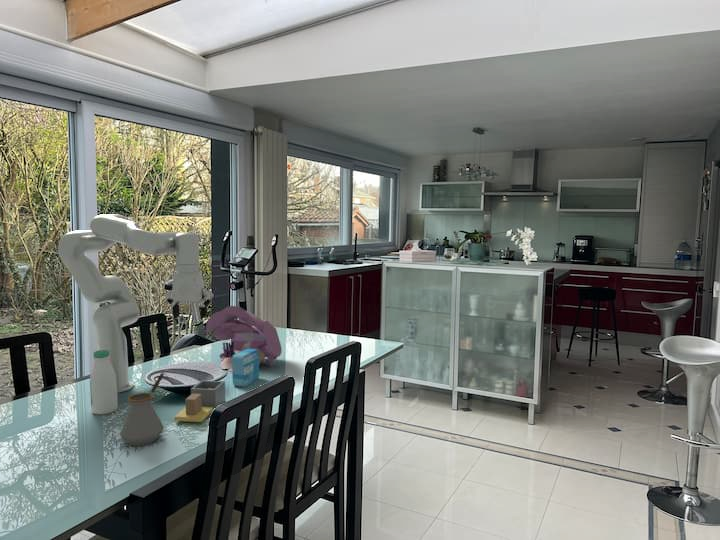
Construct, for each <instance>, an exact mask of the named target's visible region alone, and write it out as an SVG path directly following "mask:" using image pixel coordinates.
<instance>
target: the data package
mask: <svg viewBox="0 0 720 540" xmlns="http://www.w3.org/2000/svg"><path fill="white" fill-rule="evenodd" d="M231 373H232V377H231V378H232V385H233V386H234V387H239V388H240V387H242V388H245V387H247V386H249V385H250V384H252V383H254V382H255V381H257V380H259V378H260V363H259V351H258V350H257V349H248V348H247V349H245V350H243V351H241V352H239V353H237V354H235V355H233V357H232V371H231Z"/></svg>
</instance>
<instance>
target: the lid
mask: <svg viewBox="0 0 720 540" xmlns="http://www.w3.org/2000/svg"><path fill="white" fill-rule="evenodd" d="M184 400H185V407H184V408H182V409H181V410H180V411H178V413H177V414H176V415H174V417H173V418H174V419H173V420H174V422H175V421H177V422H178V421H179V422H184V423H185V422H186V423H187V422H188V423H201V422H203V421H205V419H206V418H208V416H209V415H210V414H211V413H212V412H213V411H214V410H213V407H202V399H201V394H191V393H190V395H189V396H188V397H187V398H185V399H184Z"/></svg>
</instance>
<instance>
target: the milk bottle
mask: <svg viewBox="0 0 720 540" xmlns="http://www.w3.org/2000/svg"><path fill="white" fill-rule="evenodd" d="M109 357H110V356H109V351H108V350H99V351H98V350H96V351H94V352H93V360H94V364H93V368H92V369H91V372H90V374H89V375H90V376H89V387H90V403H91V406H90V407H91V412H92V414H94V415H106V414H111V413H114V412H116V411H117V410H118V407H119V404H118V393H117V384H116V374H115V371H114V369H113V367H112V365H111V364H110V361H109Z"/></svg>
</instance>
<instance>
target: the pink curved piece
mask: <svg viewBox="0 0 720 540" xmlns="http://www.w3.org/2000/svg"><path fill="white" fill-rule="evenodd" d="M212 331H213V332H212ZM211 332H212V333H211ZM205 333H206V334H209V333H211V335H212V338H215V339H216V340H218V341H229V340H230V342H223V343H222V349H223V350H222V351H223V353H221V354H219V358H220V360H222V361H221V363H220V364H221V365H223V366H224V367H226V368H227V369H228V370H229V372H232V357H233V355H235V354H237V353H239V352H241V351H243V350H245V349H247V348H248V349H257V350H258V351H259V364H260V363H261V362H263V360H265V358H267V359H266V361H265V364H266V365H267V364H268V365H267V366H269V367H273V365H274V362H275V361H274V360H276V359H277V358H279V357H280V356H281V355H282V345H281V341H280V338H279V334H278V332H277V328H276V327H275V326H274V325H273V323H271V322H270V321H269V320H268V319H265V318H264V319H261V318H260V317H259V316H257V315H256V314H254V313H252V312H250V311H247V310H245V309H244V308H243V307H241V306H237V305H235V306H234V305H228V306H226V307H225V308H224V309H222V310H220V311H218V312H217V311H216V312H214V313H213V314H211V315H210V316H209V317H208V319H207V322H206V325H205ZM228 370H227V371H228Z"/></svg>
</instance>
